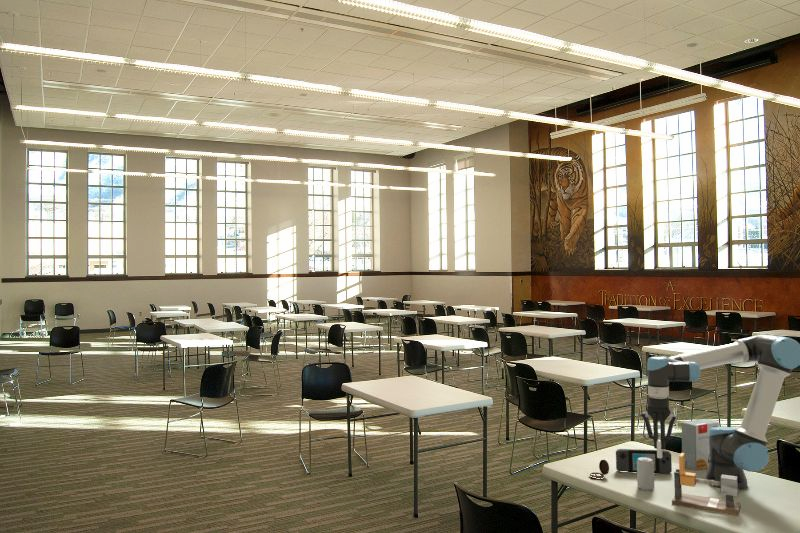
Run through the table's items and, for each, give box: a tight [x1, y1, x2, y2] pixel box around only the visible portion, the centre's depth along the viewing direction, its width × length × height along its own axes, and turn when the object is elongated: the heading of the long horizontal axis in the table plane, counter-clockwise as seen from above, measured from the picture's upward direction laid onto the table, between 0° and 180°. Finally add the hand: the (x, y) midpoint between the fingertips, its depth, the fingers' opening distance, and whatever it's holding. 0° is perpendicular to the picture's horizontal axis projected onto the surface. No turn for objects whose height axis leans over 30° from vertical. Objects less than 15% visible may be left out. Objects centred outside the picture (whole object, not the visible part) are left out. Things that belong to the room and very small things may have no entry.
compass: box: [589, 459, 610, 480], centre depth 260 cm, size 8×8×7 cm
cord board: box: [671, 468, 741, 517], centre depth 226 cm, size 10×22×12 cm, turn 56°
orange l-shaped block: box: [678, 452, 697, 488], centre depth 230 cm, size 5×5×11 cm
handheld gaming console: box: [615, 448, 673, 475], centre depth 265 cm, size 23×3×10 cm, turn 80°
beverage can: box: [636, 457, 655, 492], centre depth 246 cm, size 6×6×12 cm
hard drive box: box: [681, 418, 720, 471], centre depth 272 cm, size 16×8×20 cm, turn 114°
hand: (659, 457), depth 235 cm, fingers closed
